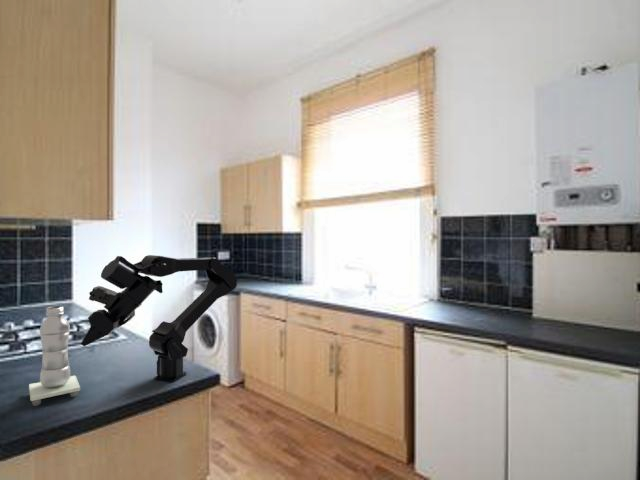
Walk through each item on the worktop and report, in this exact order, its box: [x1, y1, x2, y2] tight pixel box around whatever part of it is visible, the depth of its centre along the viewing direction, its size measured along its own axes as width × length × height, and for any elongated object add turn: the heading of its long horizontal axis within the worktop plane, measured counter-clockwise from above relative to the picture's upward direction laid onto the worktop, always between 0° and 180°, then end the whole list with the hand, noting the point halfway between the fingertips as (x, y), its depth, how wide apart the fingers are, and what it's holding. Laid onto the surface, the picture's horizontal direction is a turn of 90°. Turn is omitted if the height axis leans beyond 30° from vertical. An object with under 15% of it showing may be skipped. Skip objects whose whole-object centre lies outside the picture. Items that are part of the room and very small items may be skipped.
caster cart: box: [28, 375, 81, 407], centre depth 96 cm, size 10×10×2 cm
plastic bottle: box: [39, 305, 72, 388], centre depth 96 cm, size 6×7×20 cm
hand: (90, 340), depth 99 cm, fingers open, 9 cm apart
